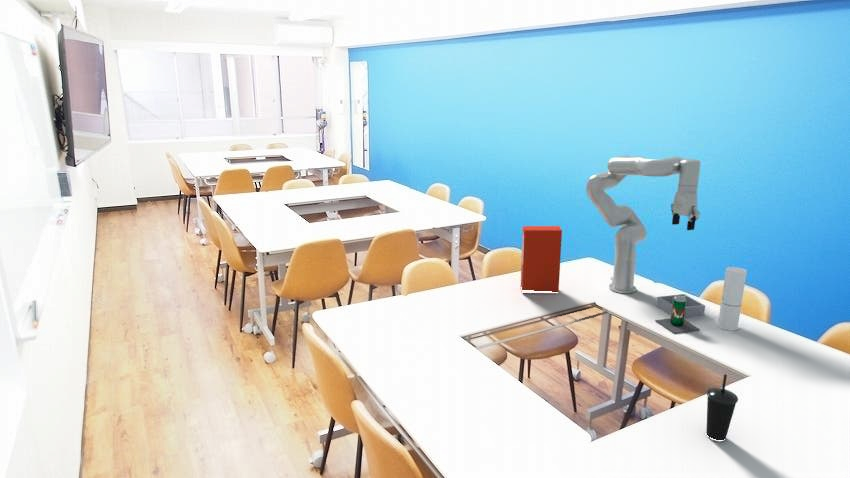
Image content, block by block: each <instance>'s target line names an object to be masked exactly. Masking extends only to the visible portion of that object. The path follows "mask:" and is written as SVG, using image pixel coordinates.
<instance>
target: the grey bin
mask: <svg viewBox="0 0 850 478" xmlns="http://www.w3.org/2000/svg"><path fill="white" fill-rule="evenodd" d="M677 295H679V296H684V297H685V298H686V300H687V301H686V309H685V317H684V319H685V318H692V317H693V318H694V317H700V316H705V310H706V305H705V304H703V303H701V302H699V301H698V300H696V299H694V298H693V297H690V296H688V295H687V294H685V293H682V294H671V295H661V296H657V297H656V307H657V308H659V309H660V310H661V311H664V312H665V313H667V314H668V315H670V316H671V311H672V303H673V298H674V296H677Z"/></svg>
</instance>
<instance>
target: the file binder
mask: <svg viewBox="0 0 850 478" xmlns="http://www.w3.org/2000/svg"><path fill="white" fill-rule="evenodd" d="M521 237H522V238H521V265H520V266H521V267H520V268H521V269H520V288H521V287H522V290H534V291H552V292H559V287H560V276H561V275H560V272H561V258H562V257H561V255H562V253H561V252H562V237H563V229H562V228H561V226H560V225H523V226H522V235H521ZM559 293H560V292H559Z"/></svg>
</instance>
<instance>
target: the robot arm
mask: <svg viewBox="0 0 850 478" xmlns="http://www.w3.org/2000/svg"><path fill="white" fill-rule="evenodd" d="M606 168H607V171H603V172H598V173H596V174H593V175H591V176H590V177H589V178H588V179H587V181H586V185H585V192H586V195H587V197H588V199H589V200H590V201H591V203H592V204H593V205H594V206H595V208H596V210H597V211H598V213H599V214H600V215H601V217H602V219H603V220H604V221H605V223H606V224H607V226H609V227H610V228H618V227H621V228H618V230H617V231H616V232H615V234H614V249H615V250H614V264H613V265H614V266H613V276H611V277H610V280H612V282H611V283H610V284H609V285H608V289H609V290H610V291H613V292H615V293H619V294H633V293H636V292H637V287H636V286H635V285H634V280H635V271H636V262H637V250H636V244H639V243H641V242H643V241H644V240H646V238H647V234H648V233H647V232H648V231H647V229H646V227H645V225H644V224H643V222H642V221H641V219H640V218H639V217H638V215H637V214H636V212H635V211H634V210H633V209H632V208H631V207H630V206H628V205H625V204H622V205H621V204H620V205H618V204H616V202H615V201H614V199H613V198H612V197H611V195H610V194H608V193H607V192H605V191H606V190H610V189H613V188H615V187H617V186H618V185H619V184H620V183H621V182H622V181H623V180H624V179H626V177H628V176H642V177H653V178H654V177H655V178H656V177H661V178H662V177H663V178H664V177H665V178H666V177H670V176H673V175H678V174H679V176H678V177H679V178H678V186H677V189H676V191H675V194H674V198H673V203H671V204H670V209H671V215H672V221H671V224H672V225H679V224H680V219H681V216H684V217H687V218H688V221H687V225H686V230H687V231H694V230H695V225H696V222H697V221H698V219H699V217H700V215H701V212H700V211H699V210H698V187H699V179H700V171H701V161H700V160H699V159H695V158H683V157H680V156H672V157H667V158H656V159H655V158H653V159H652V158H651V159H650V158H645V157H644V156H641V155H639V156H631V155H624V154H623V155H619V156H615V157H612V158H610V159H609V160H608V162H607V165H606Z"/></svg>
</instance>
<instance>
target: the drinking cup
mask: <svg viewBox="0 0 850 478" xmlns="http://www.w3.org/2000/svg"><path fill="white" fill-rule="evenodd" d="M727 378H728V375H727V374H723V379H722V384H721V385H722V388H721V387H710V388H708V389H707V390H706V395H707V403H706V432H705V433H707V435H708V436H709V437H711V438H713V439H716V440H724V439H725V440H726V439H727V435H728V431H729V429H730V425H731V421H732V419H733V415H734V412H735V409H736V405H737V403H738V401H739V397H738V395H736V394H735V393H734V392H732V391H730V390H729V389H726V383H727V382H726V381H727ZM707 435H706V436H707Z"/></svg>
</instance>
